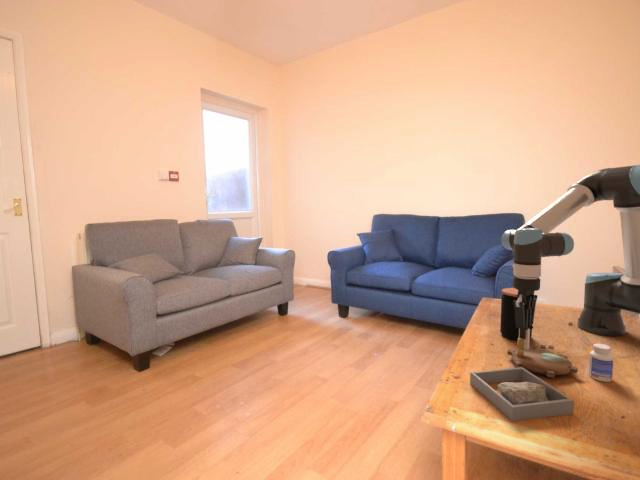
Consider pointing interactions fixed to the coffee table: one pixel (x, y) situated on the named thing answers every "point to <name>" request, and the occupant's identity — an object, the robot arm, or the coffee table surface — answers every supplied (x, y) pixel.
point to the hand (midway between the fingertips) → (523, 347)
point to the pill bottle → (601, 363)
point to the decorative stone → (522, 392)
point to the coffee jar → (509, 314)
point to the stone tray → (555, 407)
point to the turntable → (541, 360)
